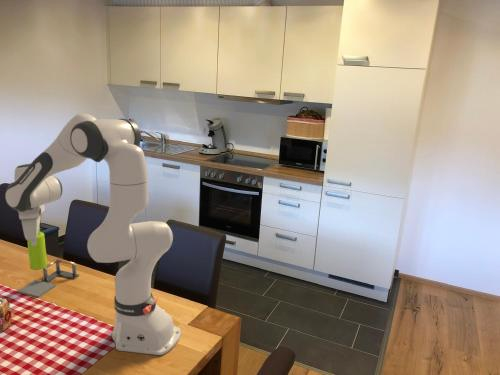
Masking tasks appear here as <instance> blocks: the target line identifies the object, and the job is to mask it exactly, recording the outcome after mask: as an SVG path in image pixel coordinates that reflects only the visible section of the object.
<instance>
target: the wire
mask: <svg viewBox="0 0 500 375" xmlns="http://www.w3.org/2000/svg"><path fill="white" fill-rule="evenodd" d="M60 263H62V264H66V265H71V269H72V272H70V271H65V270H61V265H60ZM54 264H55V271H53V272H51V274H49V275H48V268H49V267H51V266H53V265H54ZM76 266H77V264H76V262H74V261H73V262H72V261H68V260H63V259H55V260H53V261H52V262H50V263H47V267H45V268H44V269H42V274H43V278H42V279H41V281H42V282H46V283H50V282H51V281H53V280H55V279H56V278H58V277H63V278H68V279H72V280H75V279H77V278H78V277H79V276H80V274H78V273H77V267H76Z"/></svg>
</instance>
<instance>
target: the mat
mask: <svg viewBox="0 0 500 375" xmlns="http://www.w3.org/2000/svg"><path fill="white" fill-rule="evenodd" d="M56 286H57V285H56V284H54V283H50V282H44V281H42V280H37V279H34V280H33V281H30V282H29V283H27V284H26V285H24V286H23V287H20V288H19V289H17V290H16V292H17V293H18V294H23V295H27V296H30V297H35V298H38V299H39V298H40V297H42V296H43V295H45V294H46V293H48V292H50V291H51V290H52V289H54V288H55V287H56Z"/></svg>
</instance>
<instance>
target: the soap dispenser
mask: <svg viewBox="0 0 500 375" xmlns="http://www.w3.org/2000/svg"><path fill="white" fill-rule="evenodd" d="M40 227H41V226H40V225H39V230H38V235H37V239H36V240H37V245H36V246H31V241H30V240H26V241H27V249H28V250H27V251H28V258H29V259H28V260H29V267H30V269H31V270H33V271H38V270H43V269H44V268H45V267H47V265H48V258H47V248H46V238H45V233H44V232H42V231H41V228H40Z"/></svg>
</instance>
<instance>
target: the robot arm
mask: <svg viewBox="0 0 500 375" xmlns="http://www.w3.org/2000/svg"><path fill="white" fill-rule="evenodd" d="M141 133H142V132H141V130H140V128H139V126H138V124H137V123H136V122H135V121H134V120H131V119H127V118H126V119H125V118H119V119H117V118H116V119H114V118H111V119H110V118H102V119H101V118H98V119H97V118H96V117H94V116H93V115H91V114H88V113H78V114H75V115H74V116H73V117H72V118H70V120H69V121H68V122H67V123H66V124H65V125H64V127H63V128H62V129H61V131H60V132H59V134H58V135H57V137H56V138H55V139H54V140H53V141H52V142H51V144H49V146H47V148H45V149H44V151H42V152H41V153H40V154H39V155H37V157H36V158H34V160H33V161H32V162H31V163H25V164H21V165H18V166H16V167H15V169H14V177H13V178H14V182H11V183H9V185H8V186H7V188H6V190H5V193H4V199H5V202H6V204H7V206H8V207H9V208H11V209H12V210H14V211H17V213H18V218H19V219H18V220H21V227H22V232H23V236H24V238H25V240H26V241H27V240H30V241H31V246H36V245H37V240H36V239H37V235H38V230H39V226H40V224H41V220H42V217H41V216H42V214H43V212H45V209H46V207H45V206H46V204H50V203H52V202H55V201H59V200H60V199H61V198H62V194H63V185H62V182H61V180H60V179H59V178H57V177H56V176H54V175H56V174H58V173H62V172H64V171H66V170H71V169H74V168H76V167H79V166H81V164H83V163H84V162H85V161H86V160H88V159H89V160H92V161H94V162H96V163H100V162H101V161H103V160H104V161H105V162H106V164H107V165H108V170H109V207H108V211H107V214H106V216H105V218H104V220H103V221H102V223H101V224H100V225H99V226H98V227H97V228H96V229H94V230H93V231H92V233H91V234H90V235H89V237H88V239H87V244H86V246H87V247H86V248H87V252H88V255H89V256H90V258H92V260H93V261H95V262H96V263H109V264H110V263H111V264H112V263H116V262H117V263H118V262H123V261H124V262H125V261H128V262H127V263H126V264H125V265H123V266H122V267H121V268H119V270H118V271H117V272H116V275H115V277H114V290H115V291H114V292H115V295H114V299H113V300H114V303H113V306H114V307H113V308H114V310H115V317H114V318H115V319H114V326H113V330H112V333H111V338H112V340H113V341H114V343H115V349H116V350H117V351H121V352H129V353H130V352H131V353H137V354H148V355H156V356H162V355H163V356H164V355H165V354H166V353H168V352H170V350H172V349H173V348H174V347H175V345H176V344H177V343H178V342H179V340H180V338H181V335H182V332H181V331H182V330H181V328H180V327H179V326H176V325H175V324H174V320H173V318H172V316H171V315H170V314H169V313H168V312H167V311H166V310H165V309H163V308H161V307H160V306H159V305H158V304H157V302H158V300H159V297H158V296H157V297H156V298H154V295H153V293H152V287H151V286H152V285H151V284H152V274H153V271H154V269H155V266H156V265H157V262H158V261H159V260H160V259H161V258H162V256H163V255H164V254H165V253H166V252H168V251H170V248H171V247H172V245H173V240H174V234H173V231H172V229H171V227H170V226H169V225H168V223H167V222H165V221H156V220H154V221H153V220H149V221H141V222H140V221H139V222H136V223H135V222H134V223H131V222H132V221H133V219H134V218H135V217H136V216H137V215H140V214H141V213H143V212H144V211H145V209H146V208H147V207H148V205H149V177H148V176H149V174H148V167H147V161H146V157H145V153H144V151H143V149H142V148H141V147H140V144H141V140H142V134H141Z"/></svg>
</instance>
